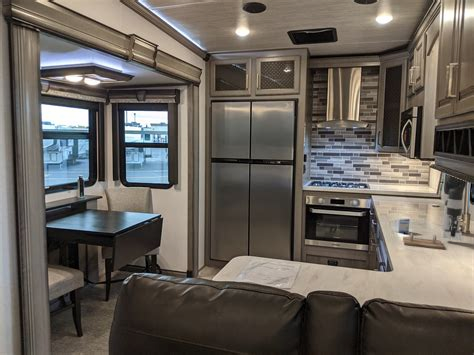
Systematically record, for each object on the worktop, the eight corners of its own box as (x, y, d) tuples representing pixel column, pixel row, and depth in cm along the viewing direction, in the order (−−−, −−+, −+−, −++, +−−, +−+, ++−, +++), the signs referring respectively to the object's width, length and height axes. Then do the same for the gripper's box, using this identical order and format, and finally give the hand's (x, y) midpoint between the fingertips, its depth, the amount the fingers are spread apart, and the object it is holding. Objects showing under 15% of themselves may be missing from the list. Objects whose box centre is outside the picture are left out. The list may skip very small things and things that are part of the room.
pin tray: (402, 238, 224) (403, 230, 224) (440, 242, 217) (441, 234, 217) (404, 244, 211) (405, 235, 211) (444, 249, 204) (445, 240, 204)
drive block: (442, 235, 223) (443, 228, 223) (460, 237, 219) (460, 230, 219) (443, 237, 219) (443, 230, 218) (461, 240, 215) (461, 233, 214)
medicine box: (398, 233, 237) (399, 219, 236) (393, 231, 241) (394, 218, 240) (408, 232, 239) (410, 219, 238) (404, 230, 243) (405, 217, 242)
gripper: (445, 204, 224) (442, 231, 227) (449, 208, 211) (446, 237, 213) (459, 205, 222) (456, 232, 224) (464, 209, 209) (461, 239, 211)
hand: (451, 235), depth 219 cm, fingers closed on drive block, 5 cm apart
